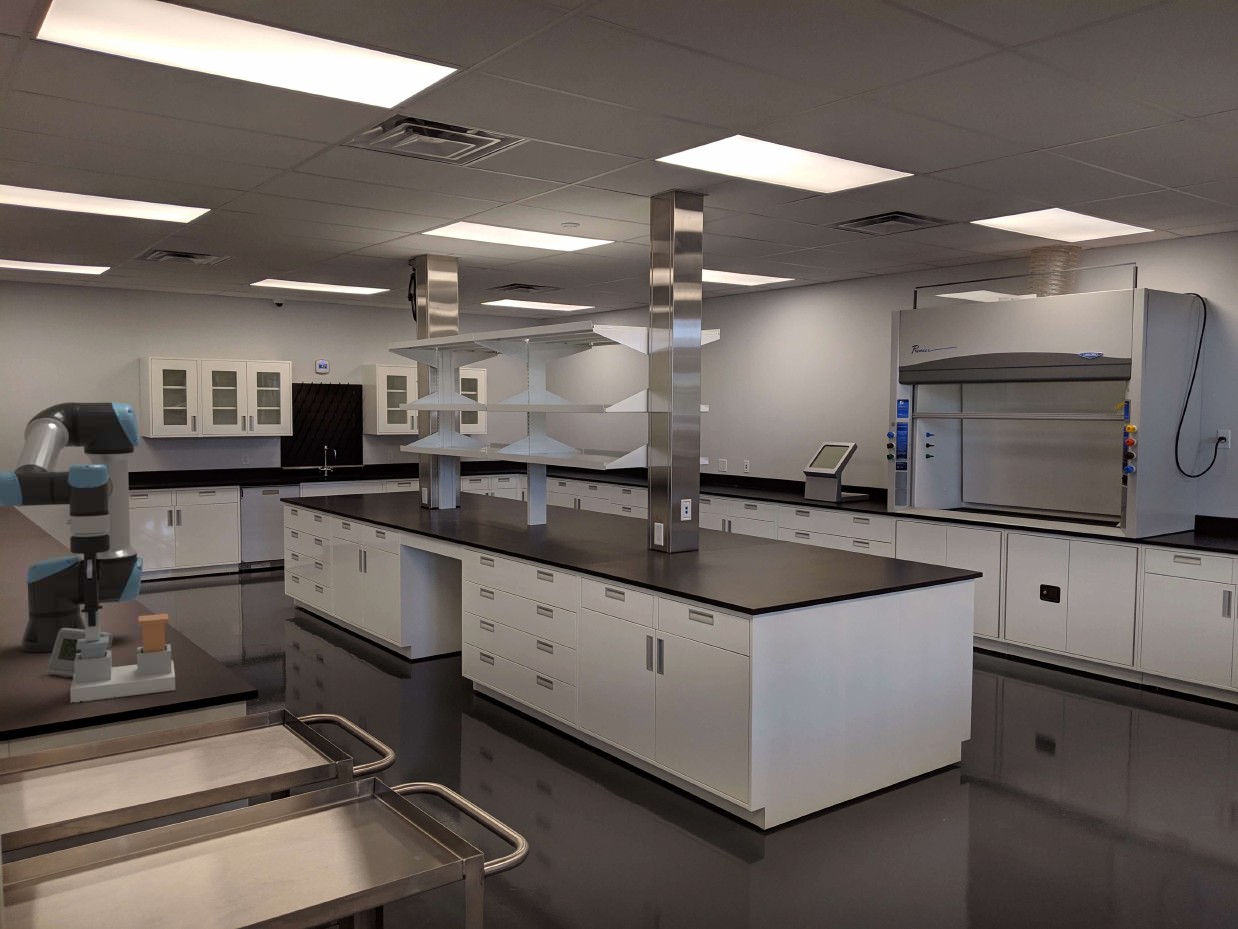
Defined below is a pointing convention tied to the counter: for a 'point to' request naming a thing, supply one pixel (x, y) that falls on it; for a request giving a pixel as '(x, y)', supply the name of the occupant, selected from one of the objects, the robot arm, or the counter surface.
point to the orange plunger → (153, 632)
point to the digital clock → (69, 651)
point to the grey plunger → (92, 647)
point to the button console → (122, 676)
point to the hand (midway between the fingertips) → (92, 639)
